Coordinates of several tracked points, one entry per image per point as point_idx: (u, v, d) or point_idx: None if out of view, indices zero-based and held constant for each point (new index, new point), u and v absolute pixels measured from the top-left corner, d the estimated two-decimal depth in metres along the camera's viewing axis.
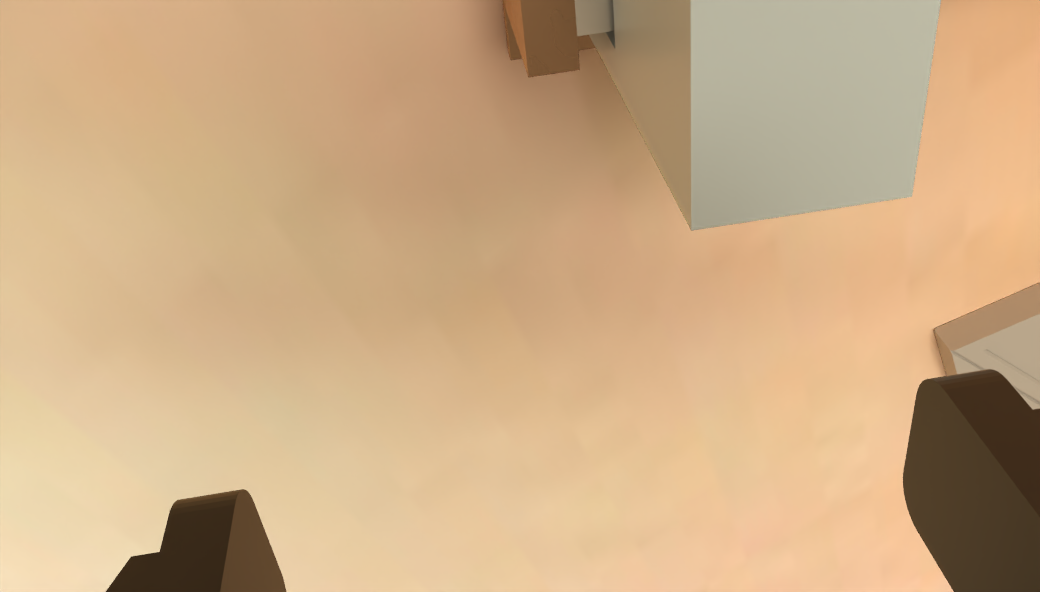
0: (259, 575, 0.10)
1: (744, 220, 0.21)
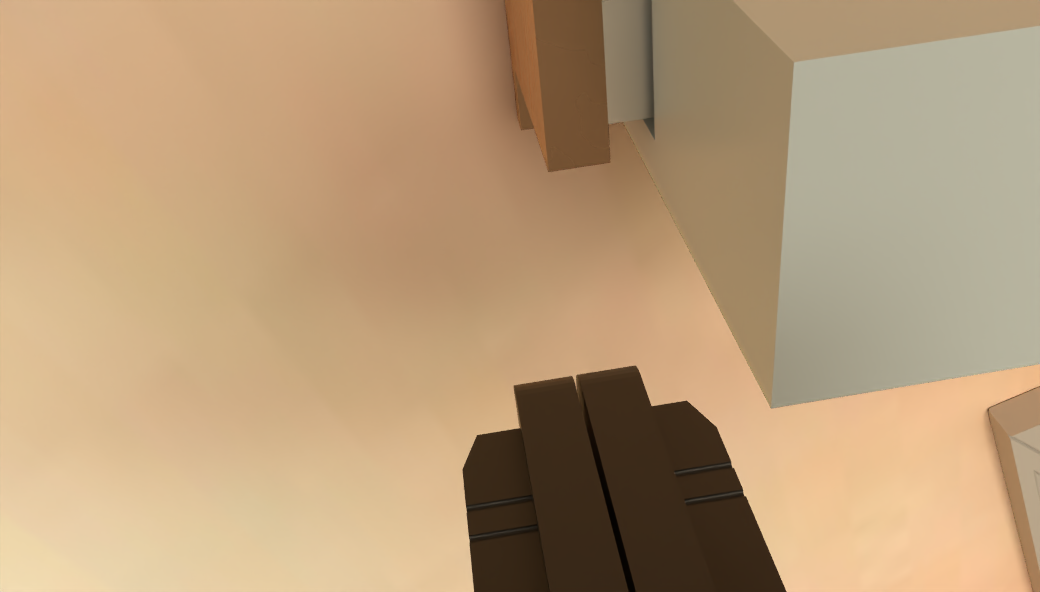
0: None
1: (839, 394, 0.16)
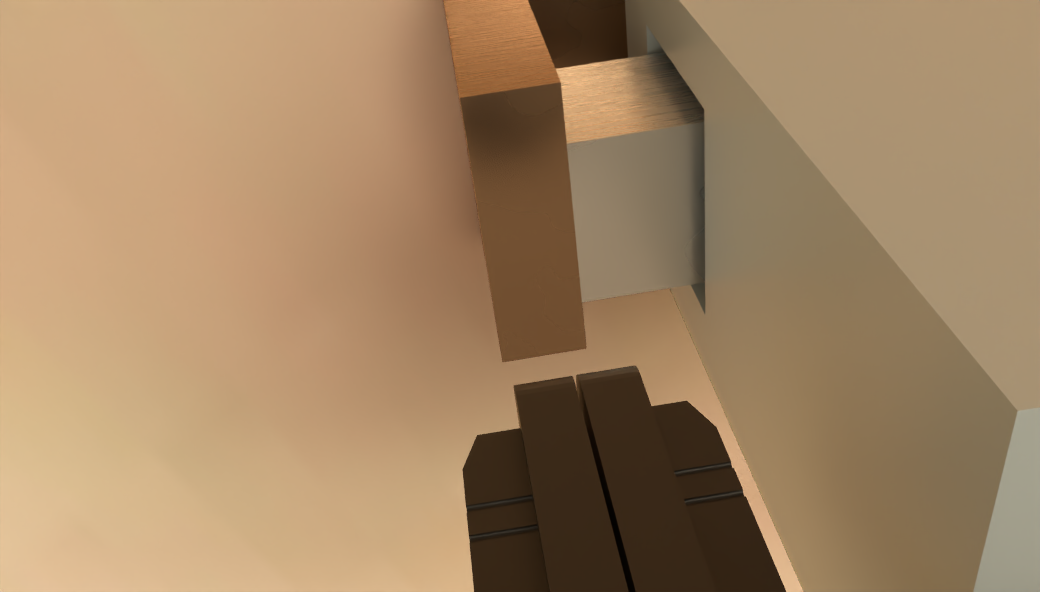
0: None
1: None
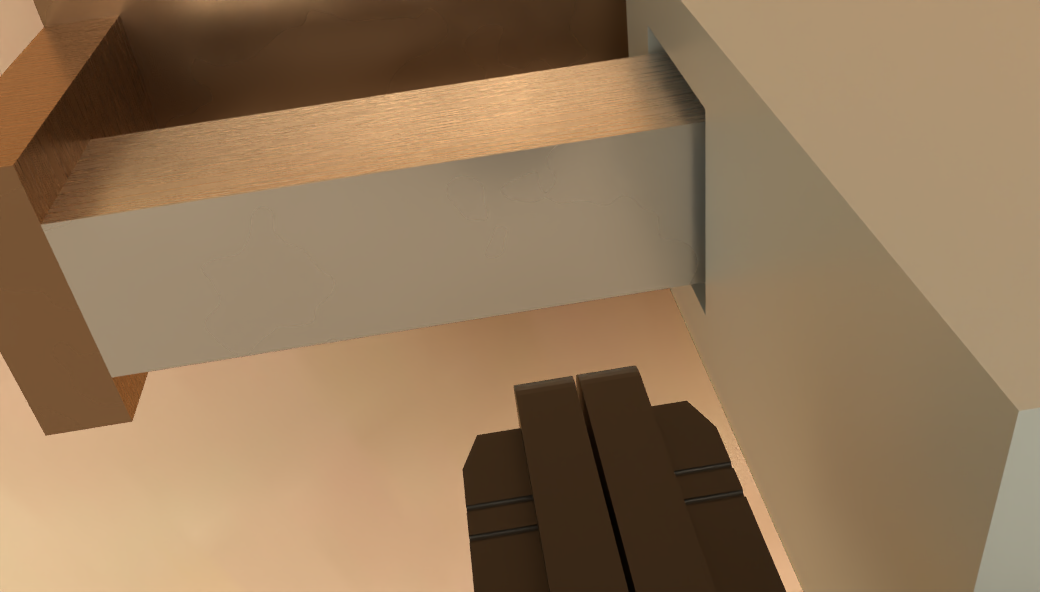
0: None
1: None
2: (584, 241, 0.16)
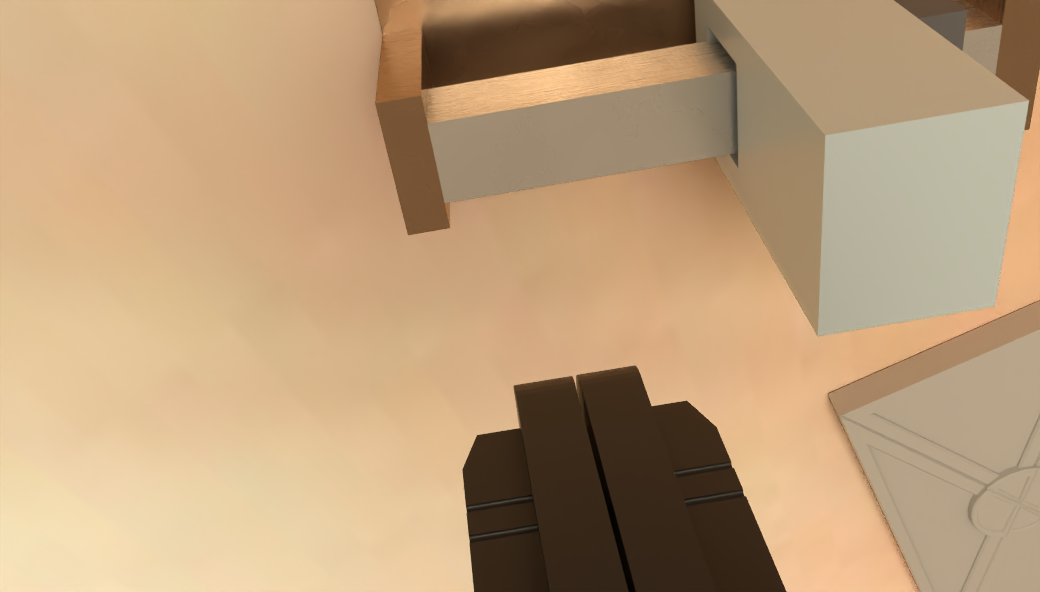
0: None
1: (860, 327, 0.27)
2: (676, 131, 0.32)
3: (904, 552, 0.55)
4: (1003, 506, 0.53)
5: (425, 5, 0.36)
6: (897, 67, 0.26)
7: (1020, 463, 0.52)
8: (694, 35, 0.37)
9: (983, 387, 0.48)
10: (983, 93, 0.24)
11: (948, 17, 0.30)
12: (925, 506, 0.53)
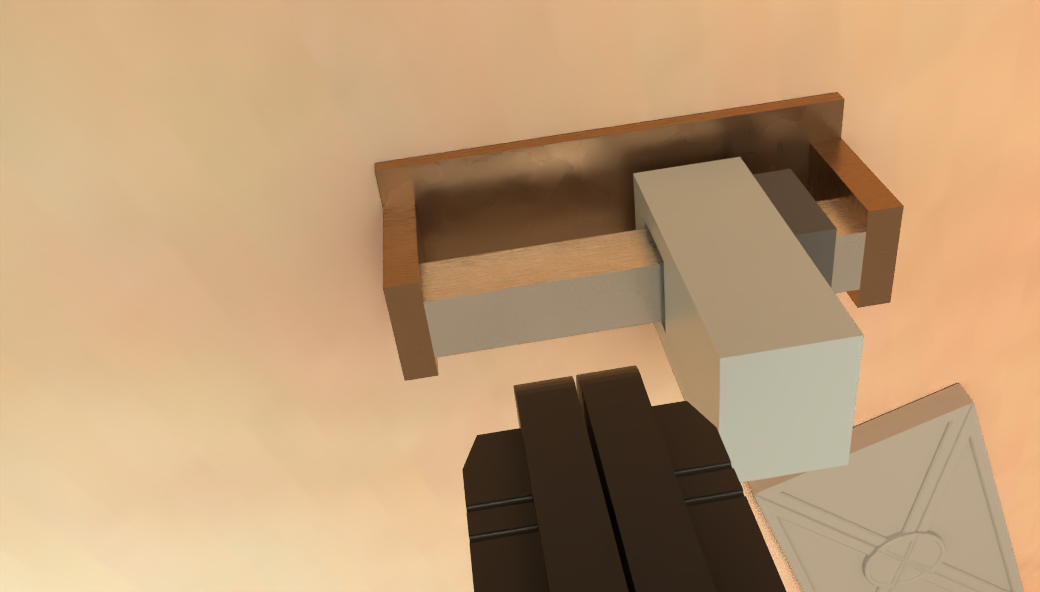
0: None
1: (749, 480, 0.36)
2: (617, 306, 0.41)
3: None
4: (891, 564, 0.63)
5: (418, 187, 0.44)
6: (777, 292, 0.35)
7: (904, 529, 0.62)
8: (634, 209, 0.46)
9: (871, 470, 0.58)
10: (834, 325, 0.33)
11: (822, 233, 0.39)
12: (826, 564, 0.63)
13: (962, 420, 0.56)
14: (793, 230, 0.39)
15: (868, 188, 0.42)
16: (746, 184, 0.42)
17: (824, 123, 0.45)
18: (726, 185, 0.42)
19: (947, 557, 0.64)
